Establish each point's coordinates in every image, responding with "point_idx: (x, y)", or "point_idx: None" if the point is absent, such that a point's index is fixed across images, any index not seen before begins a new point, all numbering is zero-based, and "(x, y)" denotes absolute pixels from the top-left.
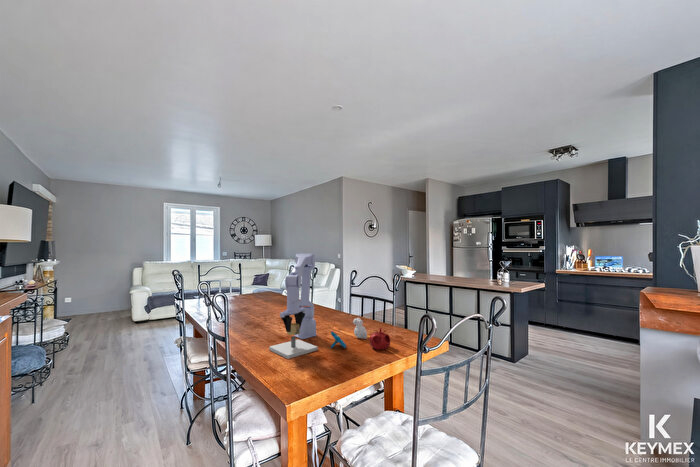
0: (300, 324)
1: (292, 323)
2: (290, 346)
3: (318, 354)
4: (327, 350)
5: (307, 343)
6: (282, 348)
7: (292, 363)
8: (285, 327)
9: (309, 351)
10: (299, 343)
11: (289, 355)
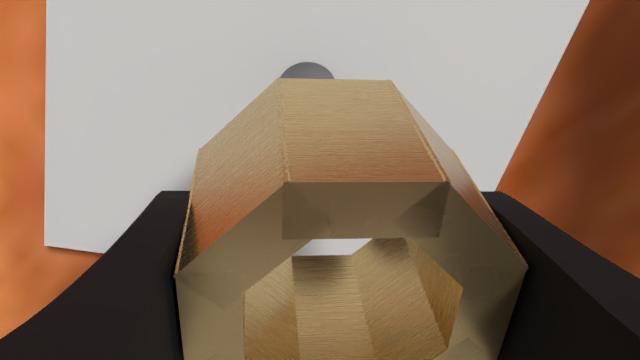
0: (502, 356)
1: (435, 241)
2: (292, 50)
3: None
4: None
5: (499, 151)
6: (158, 14)
7: (25, 319)
8: (121, 242)
9: None
10: (460, 66)
11: (71, 245)
